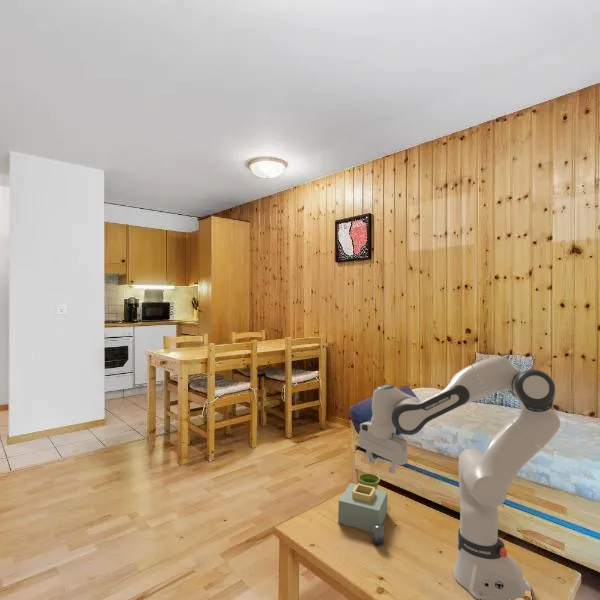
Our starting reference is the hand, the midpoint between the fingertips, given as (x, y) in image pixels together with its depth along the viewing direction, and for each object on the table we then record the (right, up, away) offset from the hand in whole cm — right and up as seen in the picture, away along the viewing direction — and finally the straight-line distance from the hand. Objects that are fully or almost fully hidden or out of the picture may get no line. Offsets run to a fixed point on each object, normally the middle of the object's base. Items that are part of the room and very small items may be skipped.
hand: (381, 467), depth 141 cm
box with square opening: (-4, -28, +17) cm, 33 cm away
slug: (-1, -28, +2) cm, 28 cm away
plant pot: (+1, -28, +33) cm, 44 cm away
